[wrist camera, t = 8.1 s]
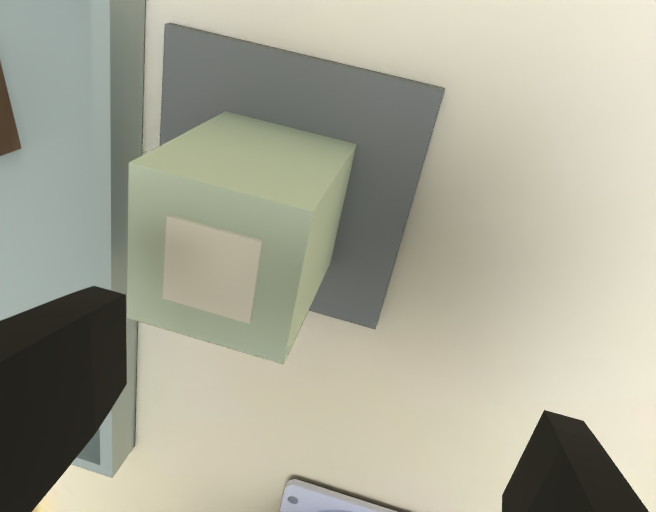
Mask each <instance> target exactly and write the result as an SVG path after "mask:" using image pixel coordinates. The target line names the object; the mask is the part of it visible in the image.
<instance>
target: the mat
mask: <svg viewBox="0 0 656 512" xmlns="http://www.w3.org/2000/svg"><path fill="white" fill-rule="evenodd" d="M444 89H445V88H442V87H438V86H434V85H429V84H425V83H421V82H417V81H413V80H408V79H404V78H400V77H396V76H392V75H387V74H383V73H379V72H375V71H370V70H366V69H362V68H358V67H354V66H349V65H345V64H341V63H337V62H333V61H328V60H324V59H320V58H316V57H311V56H307V55H303V54H299V53H295V52H290V51H286V50H282V49H278V48H274V47H269V46H265V45H261V44H257V43H252V42H248V41H244V40H240V39H236V38H231V37H227V36H223V35H219V34H215V33H210V32H206V31H202V30H198V29H193V28H189V27H185V26H181V25H177V24H172V23H167V24H165V31H164V56H163V81H162V106H161V130H160V146H161V145H163V144H165V143H167V142H169V141H170V140H172V139H174V138H176V137H178V136H180V135H182V134H184V133H186V132H187V131H189V130H191V129H193V128H195V127H197V126H199V125H201V124H202V123H204V122H206V121H208V120H210V119H212V118H214V117H216V116H218V115H219V114H221V113H223V112H225V111H227V112H231V113H235V114H239V115H243V116H247V117H251V118H255V119H259V120H263V121H267V122H271V123H275V124H278V125H282V126H286V127H290V128H294V129H298V130H302V131H306V132H310V133H314V134H318V135H322V136H326V137H330V138H334V139H338V140H342V141H346V142H350V143H354V144H357V145H356V149H355V154H354V158H353V163H352V167H351V172H350V176H349V181H348V185H347V190H346V194H345V199H344V203H343V208H342V212H341V217H340V221H339V226H338V230H337V235H336V239H335V244H334V248H333V253H332V257H331V262H330V265H329V267H328V269H327V271H326V273H325V276H324V278H323V280H322V282H321V284H320V286H319V289H318V291H317V293H316V295H315V297H314V299H313V302H312V304H311V306H310V308H309V311H313V312H316V313H320V314H323V315H327V316H330V317H334V318H337V319H341V320H344V321H348V322H351V323H355V324H358V325H362V326H365V327H369V328H372V329H376V325H377V322H378V318H379V315H380V312H381V308H382V305H383V301H384V298H385V294H386V291H387V287H388V284H389V280H390V277H391V273H392V270H393V266H394V263H395V260H396V256H397V253H398V249H399V246H400V242H401V239H402V235H403V232H404V228H405V225H406V221H407V218H408V215H409V211H410V208H411V204H412V201H413V197H414V194H415V190H416V187H417V183H418V180H419V176H420V173H421V169H422V166H423V163H424V159H425V156H426V152H427V149H428V145H429V142H430V138H431V135H432V131H433V128H434V124H435V121H436V118H437V114H438V111H439V107H440V104H441V100H442V97H443V93H444Z"/></svg>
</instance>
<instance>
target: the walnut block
mask: <svg viewBox="0 0 656 512" xmlns="http://www.w3.org/2000/svg"><path fill="white" fill-rule="evenodd" d="M19 149H21V143H20V139H19V135H18V131H17V127H16V123H15V119H14V115H13V111H12V106H11V102H10V98H9V94H8V90H7V86H6V82H5V78H4V74H3V70H2V65H1V61H0V156H2V155H5V154H8V153H10V152H13V151H16V150H19Z"/></svg>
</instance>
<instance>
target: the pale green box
mask: <svg viewBox="0 0 656 512" xmlns="http://www.w3.org/2000/svg"><path fill="white" fill-rule="evenodd" d="M356 145H357V144H354V143H350V142H346V141H342V140H338V139H334V138H330V137H326V136H322V135H318V134H314V133H310V132H306V131H302V130H298V129H294V128H290V127H286V126H282V125H278V124H275V123H271V122H267V121H263V120H259V119H255V118H251V117H247V116H243V115H239V114H235V113H231V112H227V111H225V112H223V113H221V114H219V115H218V116H216V117H214V118H212V119H210V120H208V121H206V122H204V123H202V124H201V125H199V126H197V127H195V128H193V129H191V130H189V131H187V132H186V133H184V134H182V135H180V136H178V137H176V138H174V139H172V140H170V141H169V142H167V143H165V144H163V145H161V146H159V147H157V148H155V149H153V150H152V151H150V152H148V153H146V154H144V155H142V156H140V157H138V158H137V159H135V160H133V161H131V162H129V181H128V270H127V318H129V319H132V320H136V321H139V322H143V323H146V324H149V325H153V326H156V327H159V328H163V329H166V330H169V331H173V332H176V333H180V334H183V335H186V336H190V337H193V338H196V339H200V340H203V341H206V342H210V343H213V344H216V345H220V346H223V347H227V348H230V349H233V350H237V351H240V352H243V353H247V354H250V355H253V356H257V357H260V358H263V359H267V360H270V361H274V362H277V363H280V364H284V362H285V360H286V358H287V356H288V354H289V352H290V349H291V347H292V345H293V343H294V341H295V339H296V336H297V334H298V332H299V330H300V328H301V326H302V323H303V321H304V319H305V317H306V315H307V312H308V310H309V308H310V306H311V304H312V302H313V299H314V297H315V295H316V293H317V291H318V289H319V286H320V284H321V282H322V280H323V278H324V276H325V273H326V271H327V269H328V267H329V265H330V262H331V257H332V253H333V248H334V244H335V239H336V235H337V230H338V226H339V221H340V217H341V212H342V208H343V203H344V199H345V194H346V190H347V185H348V181H349V176H350V172H351V167H352V163H353V158H354V154H355V149H356Z"/></svg>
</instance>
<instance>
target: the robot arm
mask: <svg viewBox="0 0 656 512" xmlns="http://www.w3.org/2000/svg"><path fill="white" fill-rule="evenodd" d="M126 385H127V343H126V294H122V293H119V292H115V291H111V290H108V289H104V288H101V287H97V286H91V287H88V288H85V289H82V290H79V291H76V292H73V293H71V294H68V295H65V296H63V297H60V298H57V299H55V300H52V301H50V302H47V303H44V304H42V305H39V306H37V307H34V308H32V309H29V310H27V311H24V312H21V313H19V314H16V315H14V316H11V317H9V318H6V319H3V320H1V321H0V512H32V511H33V509H34V508H35V507H36V506H37V505H38V503H39V502H40V501H41V500H42V499H43V497H44V496H45V495H46V494H47V492H48V491H49V490H50V489H51V488H52V486H53V485H54V484H55V483H56V482H57V480H58V479H59V478H60V477H61V476H62V474H63V473H64V472H65V471H66V470H67V468H68V467H69V466H70V465H71V463H72V462H73V461H74V460H75V458H76V457H77V456H78V455H79V454H80V452H81V451H82V450H83V449H84V447H85V446H86V445H87V444H88V442H89V441H90V440H91V439H92V437H93V436H94V435H95V434H96V432H97V431H98V429H99V428H100V426H101V425H102V423H103V421H104V420H105V418H106V417H107V415H108V414H109V412H110V411H111V409H112V407H113V406H114V404H115V403H116V401H117V399H118V398H119V396H120V394H121V393H122V391H123V389H124V388H125V386H126ZM279 512H397V511H394V510H391V509H388V508H385V507H382V506H378V505H375V504H372V503H369V502H366V501H363V500H360V499H357V498H353V497H350V496H347V495H344V494H341V493H338V492H335V491H331V490H328V489H325V488H322V487H319V486H316V485H313V484H310V483H306V482H303V481H300V480H296V479H293V480H289V481H288V482H287V484H286V486H285V490H284V494H283V498H282V503H281V507H280V511H279ZM502 512H649V511H648V510H647V508H646V507H645V506H644V504H643V503H642V501H641V500H640V499H639V497H638V496H637V494H636V493H635V492H634V490H633V489H632V487H631V486H630V485H629V483H628V482H627V480H626V479H625V478H624V476H623V475H622V473H621V472H620V471H619V469H618V468H617V466H616V465H615V464H614V462H613V461H612V459H611V458H610V457H609V455H608V454H607V452H606V451H605V449H604V448H603V447H602V445H601V444H600V443H599V441H598V440H597V438H596V437H595V436H594V434H593V433H592V432H591V430H590V429H589V428H588V426H587V425H586V424H585V422H584V421H582V420H578V419H574V418H571V417H567V416H564V415H560V414H556V413H553V412H549V411H546V410H544V412H543V414H542V416H541V418H540V420H539V422H538V424H537V426H536V428H535V430H534V432H533V434H532V436H531V438H530V440H529V442H528V444H527V446H526V448H525V450H524V452H523V454H522V456H521V458H520V460H519V462H518V464H517V466H516V468H515V470H514V473H513V475H512V477H511V479H510V481H509V483H508V485H507V487H506V489H505V491H504V493H503V495H502Z"/></svg>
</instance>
